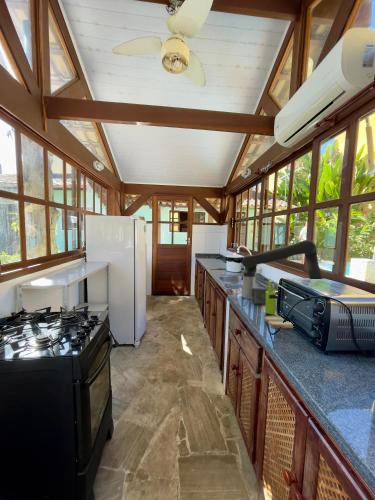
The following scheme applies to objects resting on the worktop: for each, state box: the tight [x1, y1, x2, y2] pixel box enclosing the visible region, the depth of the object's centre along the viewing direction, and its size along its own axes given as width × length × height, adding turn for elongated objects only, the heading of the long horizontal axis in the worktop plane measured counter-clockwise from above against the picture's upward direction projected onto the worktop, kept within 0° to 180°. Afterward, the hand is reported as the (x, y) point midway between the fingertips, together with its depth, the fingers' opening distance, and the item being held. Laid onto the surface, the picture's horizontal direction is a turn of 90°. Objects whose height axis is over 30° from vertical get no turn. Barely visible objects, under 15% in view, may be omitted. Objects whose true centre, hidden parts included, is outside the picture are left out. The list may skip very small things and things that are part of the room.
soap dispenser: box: [265, 280, 277, 315], centre depth 140 cm, size 6×7×20 cm
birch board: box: [263, 315, 294, 329], centre depth 125 cm, size 12×12×2 cm
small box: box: [251, 287, 268, 306], centre depth 161 cm, size 11×6×10 cm, turn 84°
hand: (267, 295), depth 140 cm, fingers closed on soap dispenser, 6 cm apart
